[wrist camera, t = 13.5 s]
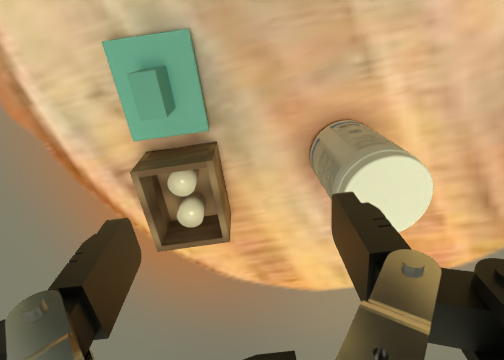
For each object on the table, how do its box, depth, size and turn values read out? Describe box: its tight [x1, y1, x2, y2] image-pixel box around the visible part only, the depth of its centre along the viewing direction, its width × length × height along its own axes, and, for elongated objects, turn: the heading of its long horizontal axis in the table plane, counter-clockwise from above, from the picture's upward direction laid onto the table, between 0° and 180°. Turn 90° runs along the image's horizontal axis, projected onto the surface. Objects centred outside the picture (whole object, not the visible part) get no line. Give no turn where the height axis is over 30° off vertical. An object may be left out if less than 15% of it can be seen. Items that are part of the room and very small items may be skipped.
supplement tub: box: [310, 120, 433, 232], centre depth 37 cm, size 10×10×15 cm
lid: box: [102, 29, 209, 141], centre depth 35 cm, size 12×10×7 cm
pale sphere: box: [177, 192, 206, 227], centre depth 43 cm, size 4×4×4 cm
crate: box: [130, 142, 231, 252], centre depth 41 cm, size 12×10×7 cm
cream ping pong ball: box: [167, 169, 199, 196], centre depth 41 cm, size 4×4×4 cm
